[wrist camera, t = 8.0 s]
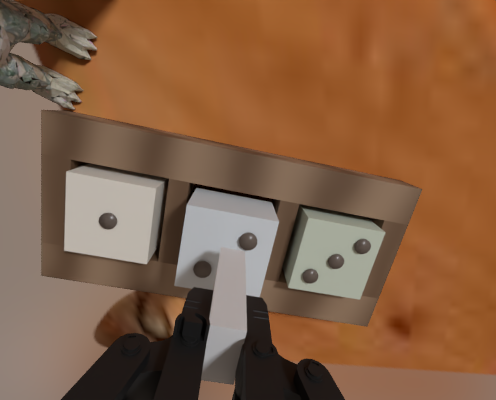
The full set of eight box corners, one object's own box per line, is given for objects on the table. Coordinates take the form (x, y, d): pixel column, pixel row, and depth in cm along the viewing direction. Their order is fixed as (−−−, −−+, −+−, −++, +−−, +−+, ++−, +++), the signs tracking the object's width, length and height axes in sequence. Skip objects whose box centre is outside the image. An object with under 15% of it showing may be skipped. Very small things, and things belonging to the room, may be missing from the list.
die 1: (93, 227, 25) (62, 251, 20) (96, 161, 23) (64, 172, 19) (161, 239, 25) (146, 265, 21) (170, 175, 23) (155, 189, 19)
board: (63, 257, 25) (41, 275, 23) (67, 110, 22) (41, 110, 19) (353, 304, 28) (367, 326, 25) (400, 180, 24) (422, 189, 22)
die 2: (185, 255, 23) (173, 287, 19) (196, 187, 22) (186, 205, 17) (255, 267, 24) (259, 301, 20) (271, 202, 22) (279, 223, 18)
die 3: (280, 260, 26) (288, 289, 22) (296, 200, 24) (309, 218, 20) (341, 271, 27) (360, 301, 22) (361, 212, 25) (386, 233, 21)
